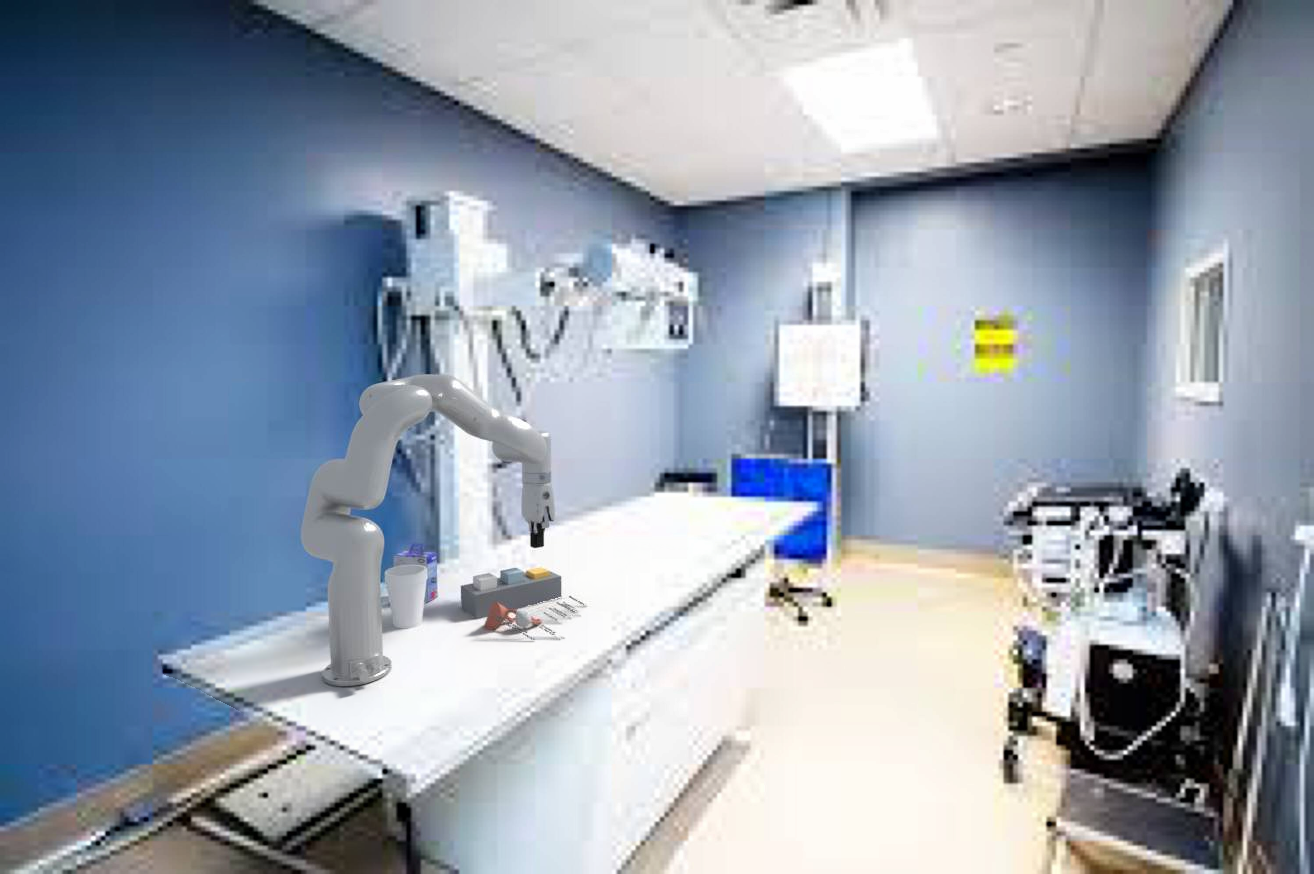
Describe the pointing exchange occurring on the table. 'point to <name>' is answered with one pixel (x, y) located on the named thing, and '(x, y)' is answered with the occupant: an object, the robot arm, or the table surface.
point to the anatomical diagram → (519, 616)
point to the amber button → (537, 573)
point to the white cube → (484, 582)
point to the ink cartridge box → (425, 560)
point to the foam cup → (406, 594)
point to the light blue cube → (512, 576)
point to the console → (510, 594)
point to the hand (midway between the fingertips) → (537, 546)
